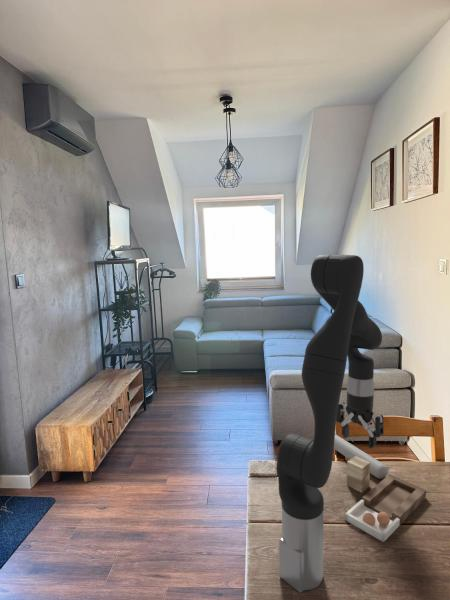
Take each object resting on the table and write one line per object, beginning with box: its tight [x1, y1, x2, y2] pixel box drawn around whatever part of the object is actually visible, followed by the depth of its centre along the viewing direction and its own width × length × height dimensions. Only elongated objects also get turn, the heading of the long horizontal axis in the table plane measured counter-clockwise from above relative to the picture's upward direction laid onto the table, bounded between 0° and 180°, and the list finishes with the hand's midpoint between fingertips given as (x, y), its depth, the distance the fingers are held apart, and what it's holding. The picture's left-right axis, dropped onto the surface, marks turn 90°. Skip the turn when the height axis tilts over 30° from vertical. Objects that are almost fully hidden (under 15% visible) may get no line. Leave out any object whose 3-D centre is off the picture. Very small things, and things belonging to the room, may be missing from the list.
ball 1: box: [363, 513, 375, 526], centre depth 106 cm, size 3×3×3 cm
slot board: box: [361, 473, 427, 526], centre depth 115 cm, size 16×11×2 cm
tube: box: [334, 433, 389, 480], centre depth 136 cm, size 5×5×25 cm
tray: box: [344, 499, 401, 543], centre depth 107 cm, size 8×11×2 cm
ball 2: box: [377, 512, 390, 526], centre depth 106 cm, size 3×3×3 cm
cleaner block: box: [346, 456, 371, 493], centre depth 123 cm, size 4×5×8 cm
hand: (358, 442), depth 121 cm, fingers open, 8 cm apart
